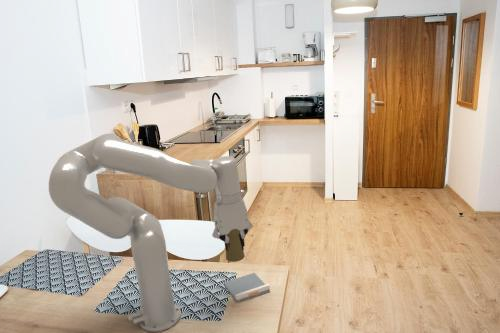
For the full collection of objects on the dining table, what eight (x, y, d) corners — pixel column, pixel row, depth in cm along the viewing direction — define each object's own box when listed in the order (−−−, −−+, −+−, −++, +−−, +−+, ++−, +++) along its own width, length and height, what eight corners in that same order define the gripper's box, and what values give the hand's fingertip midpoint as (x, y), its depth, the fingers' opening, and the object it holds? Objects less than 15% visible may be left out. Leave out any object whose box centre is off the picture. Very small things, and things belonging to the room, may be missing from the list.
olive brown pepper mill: (243, 261, 123) (239, 229, 120) (224, 262, 124) (219, 230, 121) (245, 251, 129) (242, 221, 126) (227, 252, 130) (223, 221, 127)
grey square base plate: (237, 303, 128) (236, 296, 128) (223, 284, 139) (223, 278, 138) (270, 292, 133) (269, 285, 132) (254, 275, 144) (254, 269, 143)
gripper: (248, 187, 127) (254, 239, 132) (199, 199, 121) (207, 252, 127) (258, 194, 120) (263, 248, 126) (206, 207, 115) (214, 263, 120)
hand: (235, 250), depth 126 cm, fingers closed on olive brown pepper mill, 3 cm apart
